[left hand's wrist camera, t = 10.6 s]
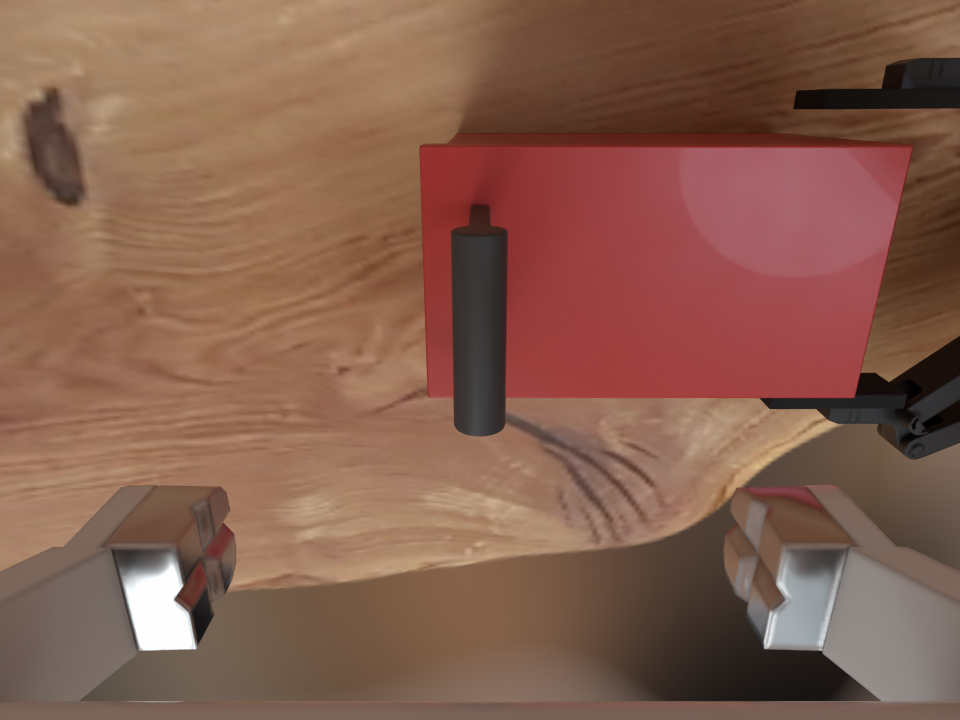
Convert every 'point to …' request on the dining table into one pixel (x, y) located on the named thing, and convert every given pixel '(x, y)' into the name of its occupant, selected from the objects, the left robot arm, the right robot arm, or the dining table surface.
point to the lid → (651, 270)
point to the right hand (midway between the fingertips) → (781, 257)
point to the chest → (642, 138)
